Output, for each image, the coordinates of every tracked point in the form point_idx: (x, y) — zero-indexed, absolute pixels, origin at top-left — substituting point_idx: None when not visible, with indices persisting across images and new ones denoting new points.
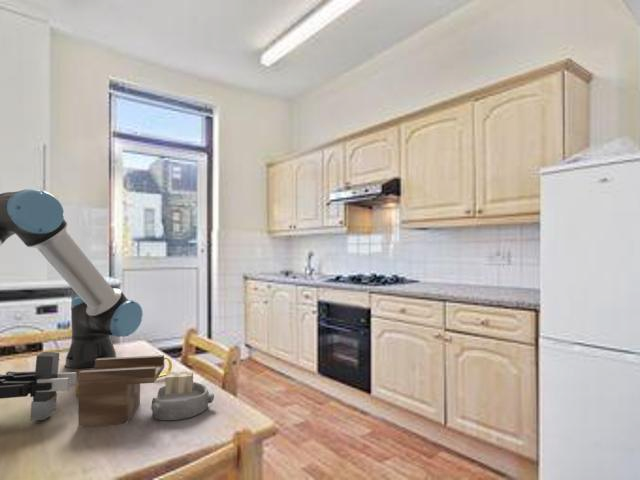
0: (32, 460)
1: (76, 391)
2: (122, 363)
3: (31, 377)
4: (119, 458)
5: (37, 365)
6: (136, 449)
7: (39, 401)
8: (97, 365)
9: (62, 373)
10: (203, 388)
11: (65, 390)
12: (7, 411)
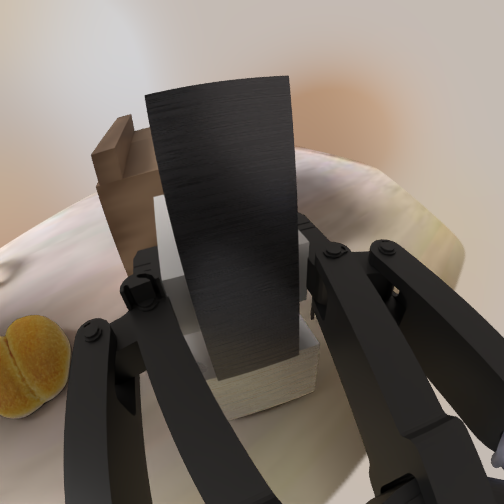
0: (428, 245)
1: (27, 407)
2: (126, 143)
3: (200, 371)
4: (355, 178)
5: (290, 153)
6: (327, 175)
7: (299, 322)
8: (120, 166)
9: (168, 221)
10: None
11: None
12: None
